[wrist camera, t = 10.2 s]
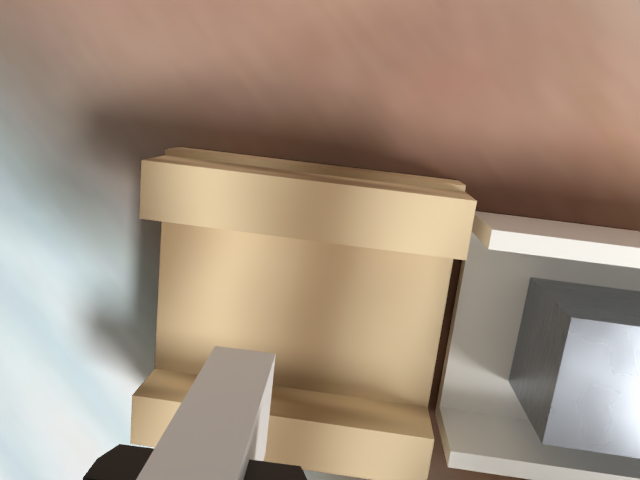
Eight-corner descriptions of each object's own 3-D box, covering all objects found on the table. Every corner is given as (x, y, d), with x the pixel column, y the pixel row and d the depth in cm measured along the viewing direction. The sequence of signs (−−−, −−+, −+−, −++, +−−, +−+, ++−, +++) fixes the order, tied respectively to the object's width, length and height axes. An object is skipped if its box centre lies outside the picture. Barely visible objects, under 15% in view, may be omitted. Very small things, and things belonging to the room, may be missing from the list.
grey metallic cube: (508, 381, 20) (542, 444, 16) (530, 277, 19) (571, 317, 16) (619, 397, 20) (680, 464, 16) (647, 292, 19) (718, 337, 15)
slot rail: (166, 398, 22) (130, 448, 19) (179, 146, 20) (141, 153, 17) (415, 434, 22) (424, 493, 18) (458, 180, 20) (478, 194, 16)
